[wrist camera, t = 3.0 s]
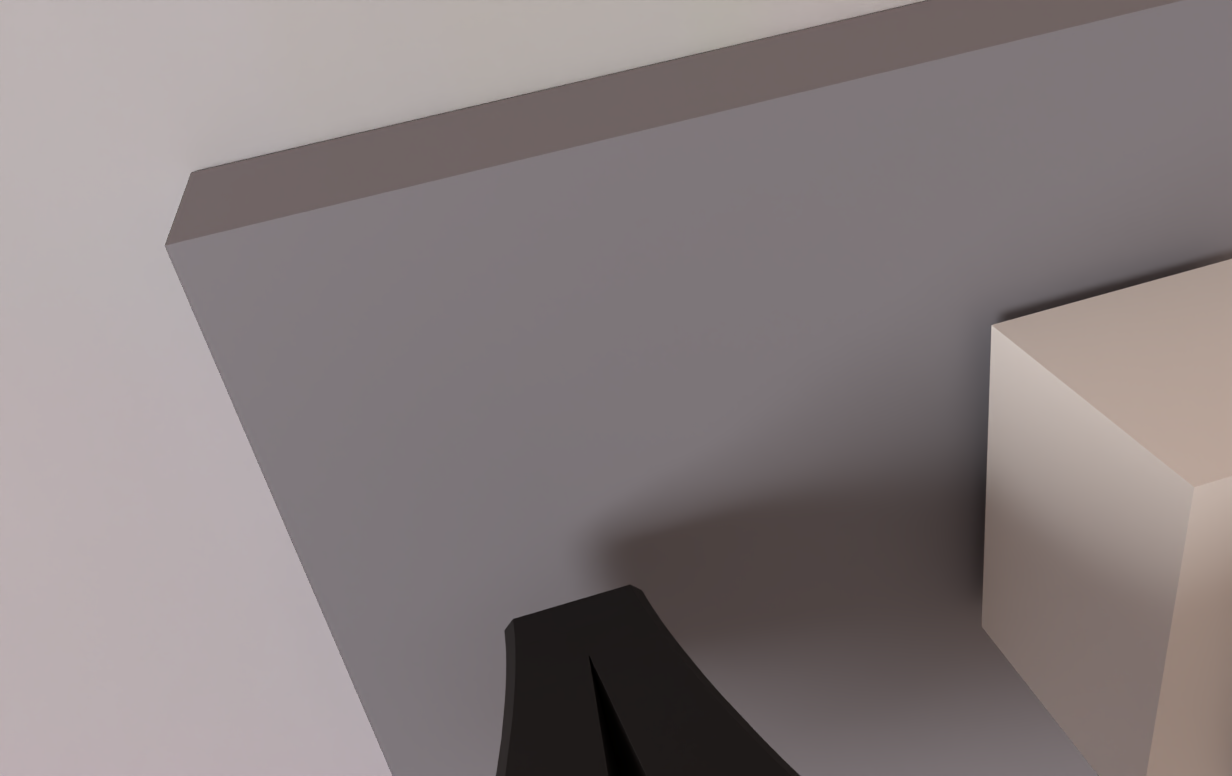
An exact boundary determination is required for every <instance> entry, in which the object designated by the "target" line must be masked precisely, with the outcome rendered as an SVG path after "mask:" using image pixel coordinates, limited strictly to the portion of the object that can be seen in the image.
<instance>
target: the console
mask: <svg viewBox="0 0 1232 776" xmlns="http://www.w3.org/2000/svg"><path fill="white" fill-rule="evenodd" d="M165 247H166V250H167V252H168V254H169V257H170V259H171V261H172V264H173V266H174V268H175V271H176V273H177V275H178V278H179V280H180V282H181V285H182V287H183V289H184V292H185V294H186V296H187V299H188V301H189V303H190V306H191V308H192V310H193V312H194V315H195V317H196V319H197V322H198V324H199V326H200V329H201V331H202V333H203V336H204V338H205V340H206V343H207V345H208V347H209V350H210V352H211V354H212V357H213V359H214V361H215V364H216V366H217V368H218V371H219V373H220V375H221V378H222V380H223V382H224V385H225V387H226V389H227V392H228V394H229V396H230V399H231V401H232V403H233V406H234V408H235V410H236V413H237V415H238V417H239V420H240V422H241V424H242V427H243V429H244V431H245V433H246V436H247V438H248V440H249V443H250V445H251V447H252V450H253V452H254V454H255V457H256V459H257V461H258V464H259V466H260V468H261V471H262V473H263V475H264V478H265V480H266V482H267V485H268V487H269V489H270V492H271V494H272V496H273V499H274V501H275V503H276V506H277V508H278V510H279V513H280V515H281V517H282V520H283V522H284V524H285V527H286V529H287V531H288V534H289V536H290V538H291V541H292V543H293V545H294V547H295V550H296V552H297V554H298V557H299V559H300V561H301V564H302V566H303V568H304V571H305V573H306V575H307V578H308V580H309V582H310V585H311V587H312V589H313V592H314V594H315V596H316V599H317V601H318V603H319V606H320V608H321V610H322V613H323V615H324V617H325V620H326V622H327V624H328V627H329V629H330V631H331V634H332V636H333V638H334V641H335V643H336V645H337V648H338V650H339V652H340V655H341V657H342V659H343V661H344V664H345V666H346V668H347V671H348V673H349V675H350V678H351V680H352V682H353V685H354V687H355V689H356V692H357V694H358V696H359V699H360V701H361V703H362V706H363V708H364V710H365V713H366V715H367V717H368V720H369V722H370V724H371V727H372V729H373V731H374V734H375V736H376V738H377V741H378V743H379V745H380V748H381V750H382V752H383V755H384V757H385V759H386V762H387V764H388V766H389V769H390V771H391V773H392V776H496V772H497V765H498V758H499V751H500V744H501V736H502V726H503V715H504V704H505V688H506V644H505V633H504V630H505V629H506V628H507V626H508V625H509V624H510V622H511V621H512V619H514V618H518V617H521V616H525V615H528V614H531V613H535V612H538V611H542V610H545V609H548V608H552V607H555V606H558V605H562V604H565V603H569V602H572V601H575V600H579V599H582V598H586V597H589V596H592V595H596V594H599V593H603V592H606V591H609V590H613V589H616V588H620V587H623V586H626V585H632V586H634V587H637V588H639V589H641V590H642V591H643V592H644V594H645V596H646V598H647V599H648V601H649V603H650V604H651V606H652V607H653V609H654V610H655V612H656V613H657V615H658V616H659V618H660V619H661V621H662V622H663V623H664V625H665V626H666V627H667V629H668V630H669V632H670V633H671V634H672V635H673V637H674V638H675V639H676V641H677V642H678V643H679V645H680V646H681V647H682V648H683V650H684V651H685V652H686V653H687V655H688V656H689V657H690V658H691V659H692V661H693V662H694V663H695V664H696V665H697V667H698V668H699V669H700V670H701V672H702V673H703V674H704V675H705V676H706V677H707V679H708V680H709V681H710V682H711V683H712V684H713V685H714V687H715V688H716V689H717V690H718V691H719V692H720V693H721V695H722V696H723V697H724V698H725V699H726V700H727V701H728V702H729V703H730V704H731V705H732V706H733V707H734V709H735V710H736V711H737V712H738V713H739V714H740V715H741V716H742V717H743V718H744V719H745V720H746V721H747V722H748V723H749V725H750V726H751V727H752V728H753V729H754V730H755V731H756V732H757V733H758V734H759V735H760V736H761V737H762V738H763V739H764V740H765V741H766V742H767V743H768V744H769V745H770V746H771V747H772V748H773V749H774V750H775V751H776V752H777V753H778V754H779V755H780V756H781V757H782V758H783V759H784V760H785V761H786V762H787V763H788V764H789V765H790V766H791V767H792V768H793V769H794V770H795V771H796V772H797V773H798V774H799V775H800V776H1099V775H1098V774H1097V773H1096V772H1095V770H1094V769H1093V768H1092V766H1091V765H1090V764H1089V763H1088V761H1087V760H1086V759H1085V758H1084V756H1083V755H1082V754H1081V752H1080V751H1079V750H1078V749H1077V747H1076V746H1075V745H1074V744H1073V742H1072V741H1071V740H1070V738H1069V737H1068V736H1067V735H1066V733H1065V732H1064V731H1063V730H1062V728H1061V727H1060V726H1059V724H1058V723H1057V722H1056V721H1055V719H1054V718H1053V717H1052V716H1051V714H1050V713H1049V712H1048V710H1047V709H1046V708H1045V707H1044V705H1043V704H1042V703H1041V702H1040V700H1039V699H1038V698H1037V696H1036V695H1035V694H1034V693H1033V691H1032V690H1031V689H1030V688H1029V686H1028V685H1027V684H1026V682H1025V681H1024V680H1023V679H1022V677H1021V676H1020V675H1019V674H1018V672H1017V671H1016V670H1015V668H1014V667H1013V666H1012V665H1011V663H1010V662H1009V661H1008V659H1007V658H1006V657H1005V656H1004V654H1003V653H1002V652H1001V651H1000V649H999V648H998V647H997V645H996V644H995V643H994V642H993V640H992V639H991V638H990V637H989V635H988V634H987V633H986V631H985V630H984V629H983V628H982V601H983V570H984V540H985V509H986V478H987V448H988V417H989V386H990V355H991V325H993V324H997V323H1001V322H1004V321H1008V320H1012V319H1015V318H1019V317H1022V316H1026V315H1030V314H1033V313H1037V312H1041V311H1044V310H1048V309H1052V308H1055V307H1059V306H1062V305H1066V304H1070V303H1073V302H1077V301H1081V300H1084V299H1088V298H1091V297H1095V296H1099V295H1102V294H1106V293H1110V292H1113V291H1117V290H1121V289H1124V288H1128V287H1131V286H1135V285H1139V284H1142V283H1146V282H1150V281H1153V280H1157V279H1160V278H1164V277H1168V276H1171V275H1175V274H1179V273H1182V272H1186V271H1189V270H1193V269H1197V268H1200V267H1204V266H1208V265H1211V264H1215V263H1219V262H1222V261H1226V260H1229V259H1232V0H928V1H924V2H919V3H915V4H911V5H906V6H902V7H898V8H894V9H889V10H885V11H881V12H876V13H872V14H868V15H864V16H859V17H855V18H851V19H846V20H842V21H838V22H834V23H829V24H825V25H821V26H816V27H812V28H808V29H804V30H799V31H795V32H791V33H786V34H782V35H778V36H774V37H769V38H765V39H761V40H756V41H752V42H748V43H744V44H739V45H735V46H731V47H726V48H722V49H718V50H714V51H709V52H705V53H701V54H696V55H692V56H688V57H684V58H679V59H675V60H671V61H666V62H662V63H658V64H654V65H649V66H645V67H641V68H636V69H632V70H628V71H624V72H619V73H615V74H611V75H606V76H602V77H598V78H594V79H589V80H585V81H581V82H576V83H572V84H568V85H564V86H559V87H555V88H551V89H546V90H542V91H538V92H534V93H529V94H525V95H521V96H516V97H512V98H508V99H504V100H499V101H495V102H491V103H486V104H482V105H478V106H474V107H469V108H465V109H461V110H456V111H452V112H448V113H444V114H439V115H435V116H431V117H426V118H422V119H418V120H414V121H409V122H405V123H401V124H396V125H392V126H388V127H384V128H379V129H375V130H371V131H366V132H362V133H358V134H354V135H349V136H345V137H341V138H336V139H332V140H328V141H324V142H319V143H315V144H311V145H306V146H302V147H298V148H294V149H289V150H285V151H281V152H276V153H272V154H268V155H264V156H259V157H255V158H251V159H246V160H242V161H238V162H234V163H229V164H225V165H221V166H216V167H212V168H208V169H204V170H199V171H195V172H191V174H190V177H189V180H188V183H187V186H186V188H185V191H184V194H183V197H182V199H181V202H180V205H179V208H178V210H177V213H176V216H175V219H174V221H173V224H172V227H171V230H170V233H169V235H168V238H167V241H166V244H165Z"/></svg>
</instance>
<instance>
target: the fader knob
mask: <svg viewBox="0 0 1232 776" xmlns="http://www.w3.org/2000/svg"><path fill="white" fill-rule="evenodd" d="M982 628H983V629H984V630H985V631H986V633H987V634H988V635H989V637H990V638H991V639H992V640H993V642H994V643H995V644H996V645H997V647H998V648H999V649H1000V651H1001V652H1002V653H1003V654H1004V656H1005V657H1006V658H1007V659H1008V661H1009V662H1010V663H1011V665H1012V666H1013V667H1014V668H1015V670H1016V671H1017V672H1018V674H1019V675H1020V676H1021V677H1022V679H1023V680H1024V681H1025V682H1026V684H1027V685H1028V686H1029V688H1030V689H1031V690H1032V691H1033V693H1034V694H1035V695H1036V696H1037V698H1038V699H1039V700H1040V702H1041V703H1042V704H1043V705H1044V707H1045V708H1046V709H1047V710H1048V712H1049V713H1050V714H1051V716H1052V717H1053V718H1054V719H1055V721H1056V722H1057V723H1058V724H1059V726H1060V727H1061V728H1062V730H1063V731H1064V732H1065V733H1066V735H1067V736H1068V737H1069V738H1070V740H1071V741H1072V742H1073V744H1074V745H1075V746H1076V747H1077V749H1078V750H1079V751H1080V752H1081V754H1082V755H1083V756H1084V758H1085V759H1086V760H1087V761H1088V763H1089V764H1090V765H1091V766H1092V768H1093V769H1094V770H1095V772H1096V773H1097V774H1098V775H1099V776H1232V259H1229V260H1226V261H1222V262H1219V263H1215V264H1211V265H1208V266H1204V267H1200V268H1197V269H1193V270H1189V271H1186V272H1182V273H1179V274H1175V275H1171V276H1168V277H1164V278H1160V279H1157V280H1153V281H1150V282H1146V283H1142V284H1139V285H1135V286H1131V287H1128V288H1124V289H1121V290H1117V291H1113V292H1110V293H1106V294H1102V295H1099V296H1095V297H1091V298H1088V299H1084V300H1081V301H1077V302H1073V303H1070V304H1066V305H1062V306H1059V307H1055V308H1052V309H1048V310H1044V311H1041V312H1037V313H1033V314H1030V315H1026V316H1022V317H1019V318H1015V319H1012V320H1008V321H1004V322H1001V323H997V324H993V325H991V355H990V386H989V417H988V448H987V478H986V509H985V540H984V570H983V601H982Z"/></svg>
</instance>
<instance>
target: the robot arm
mask: <svg viewBox="0 0 1232 776" xmlns="http://www.w3.org/2000/svg"><path fill="white" fill-rule="evenodd" d="M504 633H505V644H506V688H505V704H504V715H503V726H502V736H501V744H500V751H499V758H498V765H497V772H496V776H800V775H799V774H798V773H797V772H796V771H795V770H794V769H793V768H792V767H791V766H790V765H789V764H788V763H787V762H786V761H785V760H784V759H783V758H782V757H781V756H780V755H779V754H778V753H777V752H776V751H775V750H774V749H773V748H772V747H771V746H770V745H769V744H768V743H767V742H766V741H765V740H764V739H763V738H762V737H761V736H760V735H759V734H758V733H757V732H756V731H755V730H754V729H753V728H752V727H751V726H750V725H749V723H748V722H747V721H746V720H745V719H744V718H743V717H742V716H741V715H740V714H739V713H738V712H737V711H736V710H735V709H734V707H733V706H732V705H731V704H730V703H729V702H728V701H727V700H726V699H725V698H724V697H723V696H722V695H721V693H720V692H719V691H718V690H717V689H716V688H715V687H714V685H713V684H712V683H711V682H710V681H709V680H708V679H707V677H706V676H705V675H704V674H703V673H702V672H701V670H700V669H699V668H698V667H697V665H696V664H695V663H694V662H693V661H692V659H691V658H690V657H689V656H688V655H687V653H686V652H685V651H684V650H683V648H682V647H681V646H680V645H679V643H678V642H677V641H676V639H675V638H674V637H673V635H672V634H671V633H670V632H669V630H668V629H667V627H666V626H665V625H664V623H663V622H662V621H661V619H660V618H659V616H658V615H657V613H656V612H655V610H654V609H653V607H652V606H651V604H650V603H649V601H648V599H647V598H646V596H645V594H644V592H643V591H642V590H641V589H639V588H637V587H634V586H632V585H626V586H623V587H620V588H616V589H613V590H609V591H606V592H603V593H599V594H596V595H592V596H589V597H586V598H582V599H579V600H575V601H572V602H569V603H565V604H562V605H558V606H555V607H552V608H548V609H545V610H542V611H538V612H535V613H531V614H528V615H525V616H521V617H518V618H514V619H512V621H511V622H510V624H509V625H508V626H507V628H506V629H505V630H504Z"/></svg>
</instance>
